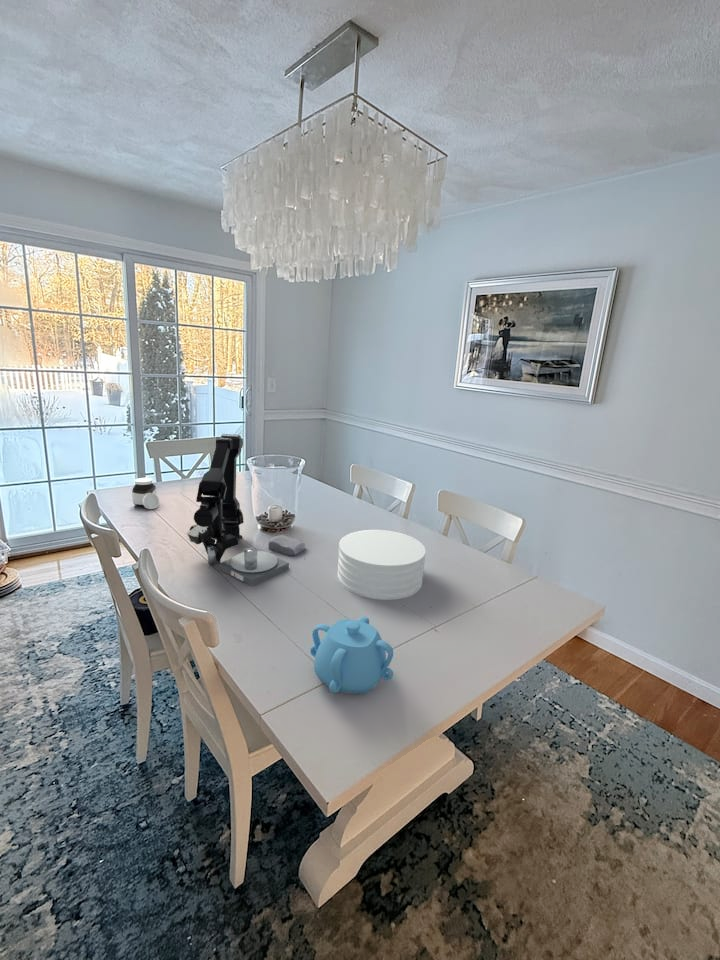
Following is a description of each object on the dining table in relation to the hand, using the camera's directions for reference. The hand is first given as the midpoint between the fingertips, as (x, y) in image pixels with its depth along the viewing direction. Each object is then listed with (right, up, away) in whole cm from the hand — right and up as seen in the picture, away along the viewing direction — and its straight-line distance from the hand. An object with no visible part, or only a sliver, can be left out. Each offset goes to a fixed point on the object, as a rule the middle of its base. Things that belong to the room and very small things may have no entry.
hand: (214, 559), depth 151 cm
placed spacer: (+14, -1, -8) cm, 16 cm away
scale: (+14, -3, -2) cm, 14 cm away
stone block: (+22, +1, +15) cm, 27 cm away
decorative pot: (+47, -18, -49) cm, 70 cm away
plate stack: (+55, -6, -2) cm, 56 cm away
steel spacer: (0, -1, 0) cm, 1 cm away
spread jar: (-45, +15, +48) cm, 67 cm away
